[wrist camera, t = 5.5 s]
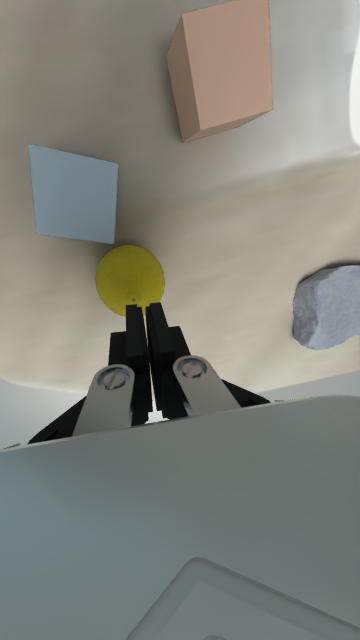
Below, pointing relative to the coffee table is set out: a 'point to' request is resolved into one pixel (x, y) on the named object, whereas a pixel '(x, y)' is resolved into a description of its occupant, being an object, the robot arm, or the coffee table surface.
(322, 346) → the stone block
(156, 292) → the lemon
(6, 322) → the coffee table surface
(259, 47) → the terracotta block
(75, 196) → the slate block
